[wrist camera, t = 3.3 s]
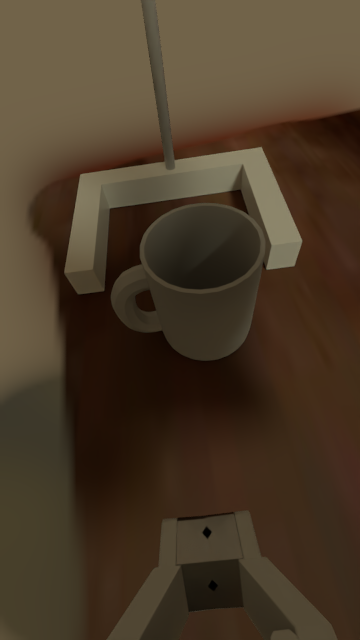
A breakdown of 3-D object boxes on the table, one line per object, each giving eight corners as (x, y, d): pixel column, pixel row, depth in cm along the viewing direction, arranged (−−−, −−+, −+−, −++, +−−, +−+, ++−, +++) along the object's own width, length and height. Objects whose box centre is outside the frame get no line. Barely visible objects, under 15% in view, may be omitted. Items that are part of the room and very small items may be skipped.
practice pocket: (294, 266, 27) (450, -207, 9) (78, 294, 28) (-172, -85, 10) (258, 173, 34) (303, -178, 17) (90, 197, 35) (-37, -112, 18)
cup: (263, 351, 23) (286, 275, 15) (135, 381, 22) (95, 320, 15) (234, 280, 27) (242, 192, 19) (125, 306, 26) (89, 226, 19)
